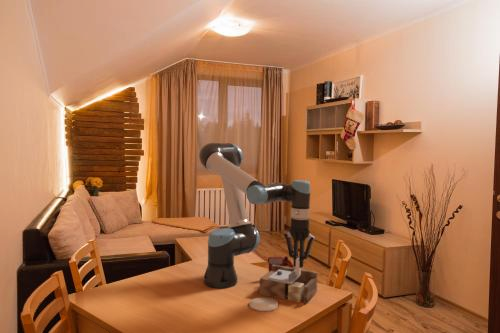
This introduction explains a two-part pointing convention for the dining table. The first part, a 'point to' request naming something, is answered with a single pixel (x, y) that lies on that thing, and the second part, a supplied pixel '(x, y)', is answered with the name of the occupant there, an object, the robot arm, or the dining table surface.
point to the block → (296, 291)
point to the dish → (263, 304)
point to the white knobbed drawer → (284, 276)
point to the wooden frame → (282, 288)
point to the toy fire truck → (279, 262)
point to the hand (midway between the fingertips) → (298, 274)
